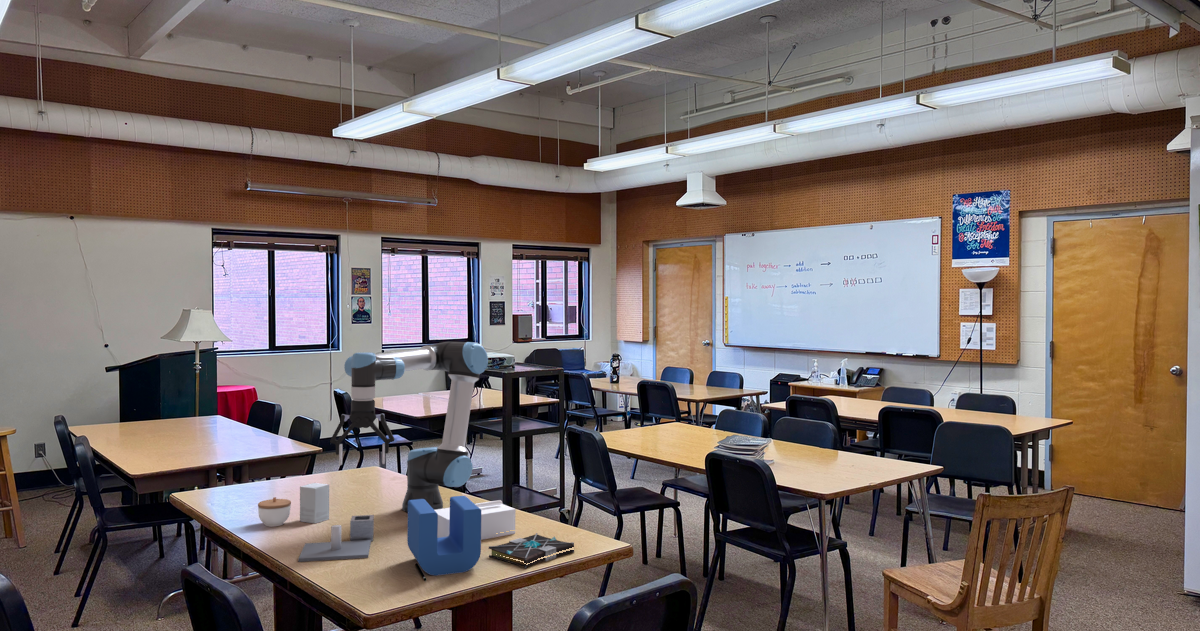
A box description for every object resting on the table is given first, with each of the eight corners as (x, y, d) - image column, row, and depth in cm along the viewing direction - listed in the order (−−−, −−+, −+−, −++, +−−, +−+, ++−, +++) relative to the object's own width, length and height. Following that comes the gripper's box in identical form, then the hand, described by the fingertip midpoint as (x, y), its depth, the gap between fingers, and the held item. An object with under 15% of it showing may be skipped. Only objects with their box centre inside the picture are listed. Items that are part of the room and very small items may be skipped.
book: (525, 570, 231) (526, 553, 231) (487, 558, 242) (487, 542, 242) (575, 553, 248) (575, 538, 248) (536, 543, 259) (536, 528, 259)
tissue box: (428, 536, 265) (429, 503, 265) (494, 525, 280) (494, 494, 280) (448, 546, 254) (448, 512, 254) (515, 534, 269) (515, 502, 269)
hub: (373, 535, 264) (373, 514, 264) (372, 541, 257) (372, 520, 257) (351, 536, 262) (352, 515, 262) (350, 542, 255) (350, 521, 255)
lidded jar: (278, 529, 270) (279, 502, 270) (251, 527, 272) (251, 500, 272) (296, 521, 281) (297, 495, 281) (269, 519, 283) (270, 493, 283)
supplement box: (329, 519, 284) (330, 484, 284) (314, 524, 278) (314, 488, 278) (314, 516, 288) (314, 482, 288) (298, 521, 281) (299, 486, 281)
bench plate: (370, 543, 255) (371, 518, 255) (368, 557, 240) (368, 531, 240) (305, 546, 251) (305, 521, 251) (298, 561, 235) (298, 534, 235)
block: (418, 577, 222) (419, 514, 222) (407, 559, 239) (407, 500, 239) (480, 570, 230) (481, 508, 230) (465, 553, 246) (466, 495, 246)
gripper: (402, 397, 266) (401, 460, 266) (324, 398, 261) (323, 462, 261) (401, 400, 259) (401, 464, 259) (321, 401, 253) (320, 467, 253)
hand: (362, 464), depth 260 cm, fingers open, 13 cm apart
